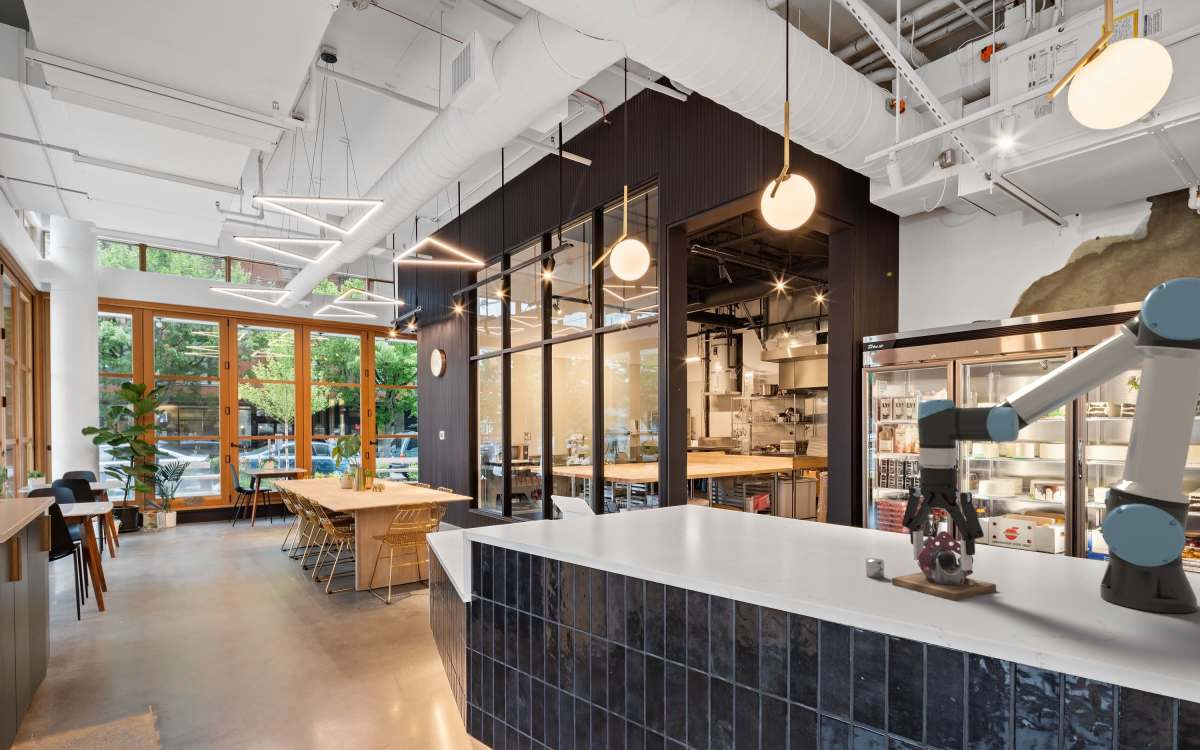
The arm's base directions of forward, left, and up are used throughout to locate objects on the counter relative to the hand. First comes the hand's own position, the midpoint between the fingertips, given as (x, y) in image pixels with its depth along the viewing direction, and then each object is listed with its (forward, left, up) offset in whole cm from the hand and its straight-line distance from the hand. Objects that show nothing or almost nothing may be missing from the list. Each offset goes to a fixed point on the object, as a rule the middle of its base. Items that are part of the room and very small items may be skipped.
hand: (942, 564), depth 143 cm
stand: (0, 0, -5) cm, 5 cm away
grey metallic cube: (+14, +5, -5) cm, 16 cm away
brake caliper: (0, -1, -4) cm, 4 cm away
